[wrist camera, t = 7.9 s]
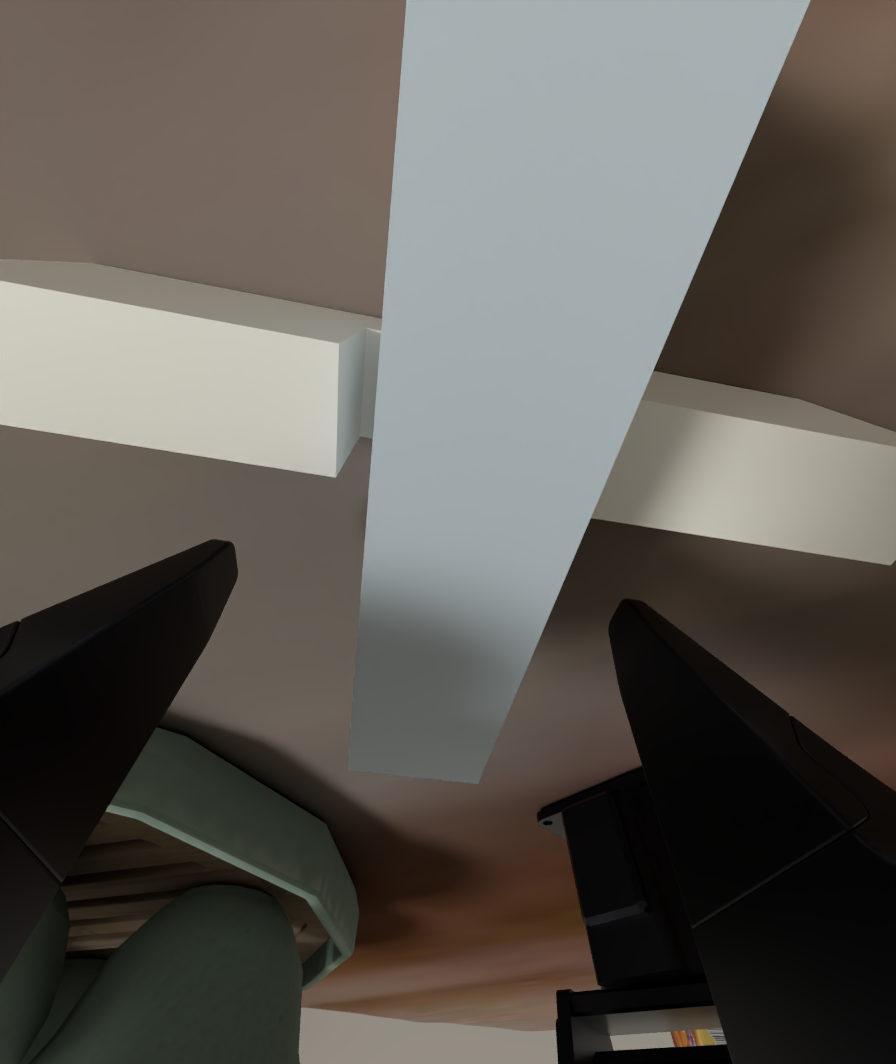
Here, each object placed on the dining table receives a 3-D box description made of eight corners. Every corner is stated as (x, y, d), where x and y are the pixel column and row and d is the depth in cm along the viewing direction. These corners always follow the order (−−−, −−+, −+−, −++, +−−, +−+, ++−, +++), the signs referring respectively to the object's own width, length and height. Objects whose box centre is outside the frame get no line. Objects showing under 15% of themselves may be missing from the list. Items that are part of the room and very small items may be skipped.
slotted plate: (462, -29, 6) (514, -1386, 1) (615, 13, 6) (1222, -970, 1) (389, 572, 13) (347, 770, 7) (467, 583, 13) (478, 783, 8)
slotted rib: (799, 399, 10) (987, 463, 6) (751, 474, 11) (890, 565, 7) (94, 263, 8) (-153, 252, 5) (119, 364, 9) (-70, 413, 6)
